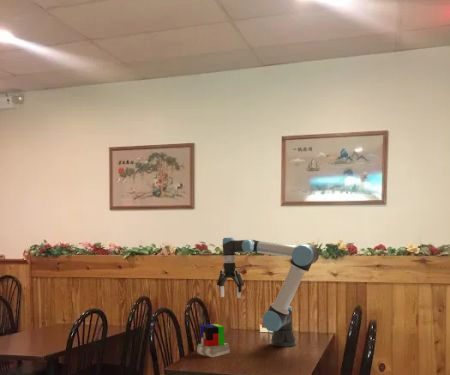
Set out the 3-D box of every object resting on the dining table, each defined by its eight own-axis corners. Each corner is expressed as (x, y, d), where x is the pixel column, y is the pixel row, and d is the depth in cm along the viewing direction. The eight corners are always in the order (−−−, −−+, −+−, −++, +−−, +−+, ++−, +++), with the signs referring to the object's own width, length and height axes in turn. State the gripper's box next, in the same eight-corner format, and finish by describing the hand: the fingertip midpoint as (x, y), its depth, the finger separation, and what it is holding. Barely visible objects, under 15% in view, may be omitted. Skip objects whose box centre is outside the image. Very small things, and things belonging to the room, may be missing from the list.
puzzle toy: (201, 343, 268) (201, 325, 269) (217, 341, 272) (217, 323, 273) (207, 346, 259) (207, 328, 260) (224, 344, 263) (223, 326, 264)
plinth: (229, 352, 265) (229, 343, 266) (212, 357, 256) (212, 347, 257) (213, 349, 274) (213, 340, 275) (197, 353, 265) (196, 344, 266)
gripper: (210, 262, 297) (211, 297, 294) (240, 262, 281) (242, 298, 278) (218, 262, 303) (219, 295, 300) (248, 262, 286) (250, 297, 283)
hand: (230, 297), depth 289 cm, fingers open, 13 cm apart
